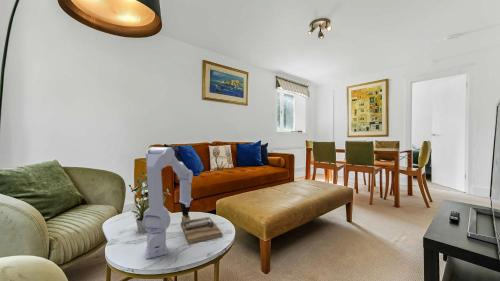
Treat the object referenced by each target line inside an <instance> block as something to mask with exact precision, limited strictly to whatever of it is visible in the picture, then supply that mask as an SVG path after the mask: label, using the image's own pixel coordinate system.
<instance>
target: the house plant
mask: <svg viewBox="0 0 500 281" xmlns="http://www.w3.org/2000/svg"><path fill="white" fill-rule="evenodd" d="M133 204H134V206H133V208H134V209H137V211H136V210H132V211H130V212H131V213H135V221H136V226H137V232H138V233H147V231H146V228H144V227H143V223H142V222H143V217H144V212H145V211H146V210H147V209H148V208H149V200H147V202H146V204H145V202H144V198H142V199H141V200H140V204H138V203H133Z"/></svg>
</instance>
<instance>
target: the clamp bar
mask: <svg viewBox="0 0 500 281" xmlns="http://www.w3.org/2000/svg"><path fill="white" fill-rule="evenodd" d="M211 220H212V219H211ZM211 220H210V219H209V218H208V219H207V220H202V221H197V222H192V223H187V224H186V227H187V228H190V227H194V226H199V225H204V224H209V222H212V221H213V220H212V221H211Z"/></svg>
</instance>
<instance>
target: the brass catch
mask: <svg viewBox="0 0 500 281" xmlns="http://www.w3.org/2000/svg"><path fill="white" fill-rule="evenodd" d="M190 220H191V217H190V215H189V213H188V214H186V215H184V221H185V222H189V221H190Z"/></svg>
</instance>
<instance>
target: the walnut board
mask: <svg viewBox="0 0 500 281" xmlns="http://www.w3.org/2000/svg"><path fill="white" fill-rule="evenodd" d="M208 218H209V219H210V220H211V221H212V222H209V224H204V225H199V226H194V227H190V228H187V227H186V224H187V223H192V222H197V221H202V220H207V219H208ZM180 227H181V229H182V232H183V235H184V238H185V239H186V242H187V245H190V244H195V243H199V242H204V241H207V240H212V239H217V238H221V237H222V236H223V232H222V231H221V229H220V228H219V227H218V226H217V224H216V223H215V222H214V221H213V220H212V218H211V217H210V216H205V217H200V218H194V219H190V221H189V222H185V221H184V217H183V215H182V216H181V221H180Z"/></svg>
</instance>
